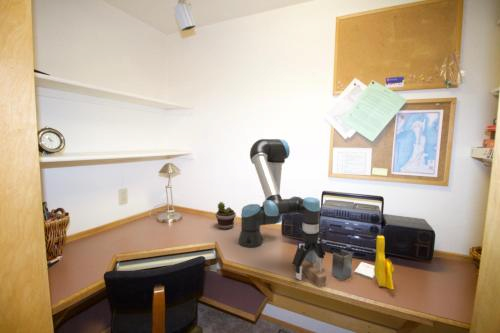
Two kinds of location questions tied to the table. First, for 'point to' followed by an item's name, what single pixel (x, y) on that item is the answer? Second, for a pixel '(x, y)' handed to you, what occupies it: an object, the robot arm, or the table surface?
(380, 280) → the figure statuette
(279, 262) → the table surface
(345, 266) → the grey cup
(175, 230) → the table surface
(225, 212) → the flowerpot
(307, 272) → the rail
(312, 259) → the bracket left
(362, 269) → the external hard drive
